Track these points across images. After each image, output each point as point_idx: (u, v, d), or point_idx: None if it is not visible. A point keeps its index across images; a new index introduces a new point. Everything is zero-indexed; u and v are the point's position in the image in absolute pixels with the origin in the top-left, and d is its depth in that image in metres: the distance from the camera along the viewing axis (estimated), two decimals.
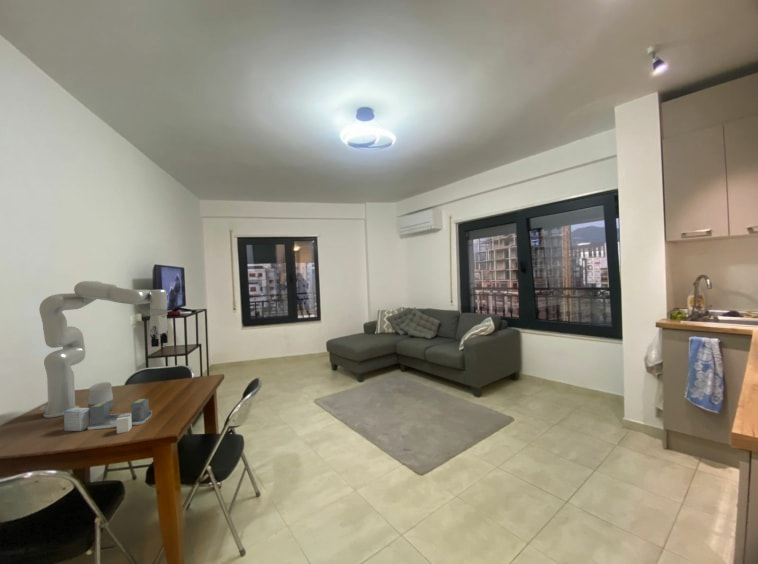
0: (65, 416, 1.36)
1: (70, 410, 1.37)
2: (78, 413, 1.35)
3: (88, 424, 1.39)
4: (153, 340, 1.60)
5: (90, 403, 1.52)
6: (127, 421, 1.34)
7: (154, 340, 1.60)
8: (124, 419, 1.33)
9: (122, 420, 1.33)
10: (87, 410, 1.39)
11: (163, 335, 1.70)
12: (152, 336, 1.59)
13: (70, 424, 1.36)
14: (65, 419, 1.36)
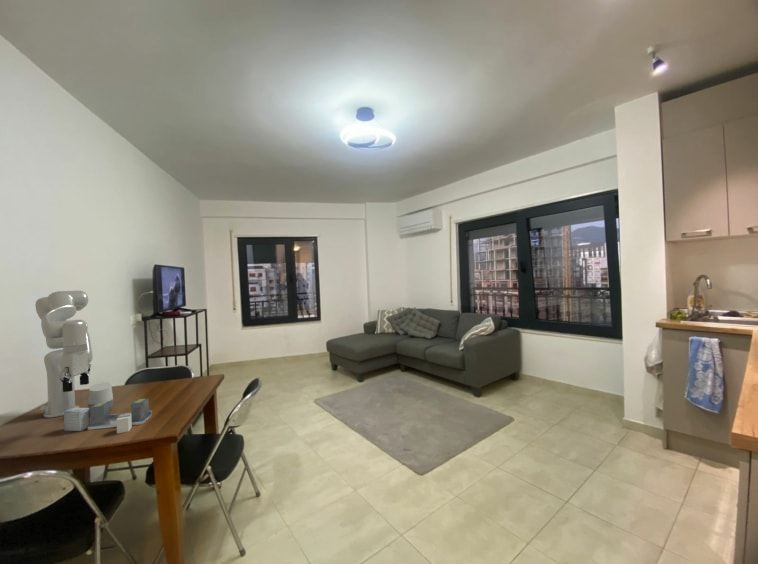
0: (65, 416, 1.36)
1: (70, 410, 1.37)
2: (78, 413, 1.35)
3: (88, 424, 1.39)
4: (64, 384, 1.32)
5: (90, 403, 1.52)
6: (127, 421, 1.34)
7: (66, 384, 1.32)
8: (124, 419, 1.33)
9: (122, 420, 1.33)
10: (87, 410, 1.39)
11: (83, 375, 1.42)
12: (62, 379, 1.31)
13: (70, 424, 1.36)
14: (65, 419, 1.36)
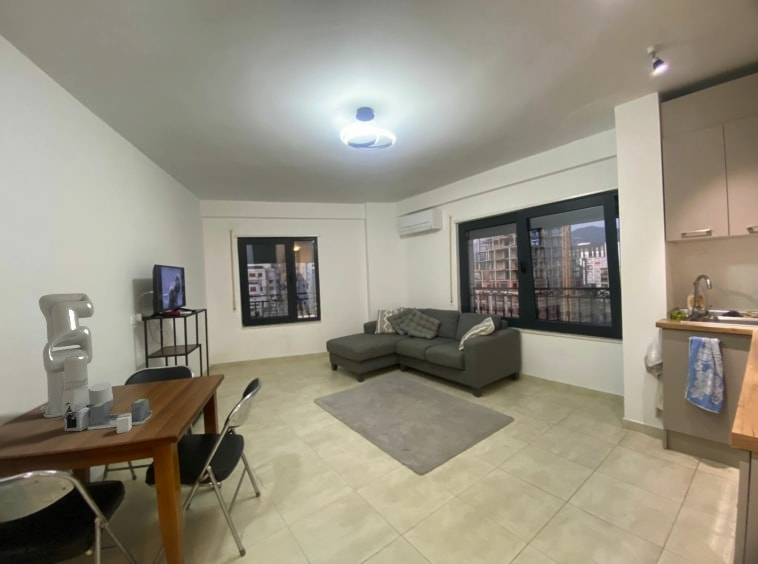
0: None
1: (70, 410, 1.37)
2: (78, 413, 1.35)
3: (88, 424, 1.39)
4: (68, 421, 1.34)
5: (90, 403, 1.52)
6: (127, 421, 1.34)
7: (70, 421, 1.34)
8: (124, 419, 1.33)
9: (122, 420, 1.33)
10: (87, 410, 1.39)
11: None
12: (67, 417, 1.32)
13: None
14: (65, 419, 1.36)
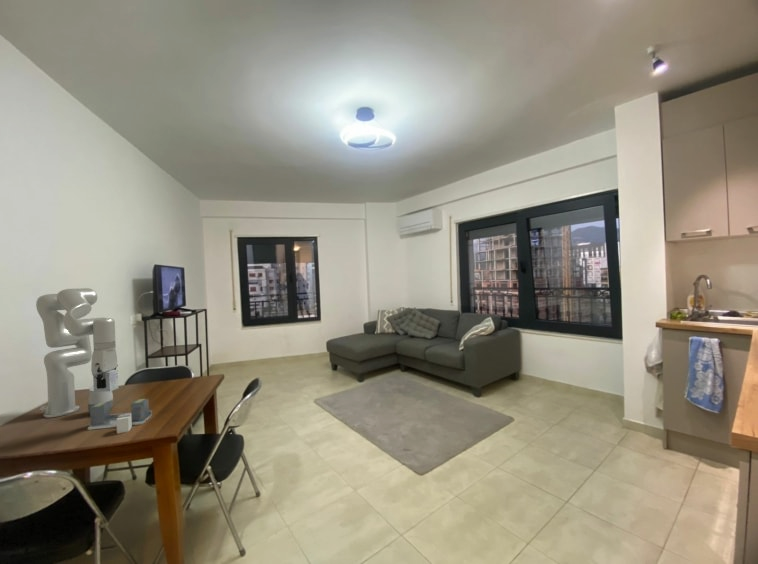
0: (94, 377, 1.39)
1: None
2: (108, 374, 1.39)
3: (117, 385, 1.42)
4: (98, 381, 1.37)
5: (90, 403, 1.52)
6: (127, 421, 1.34)
7: (100, 381, 1.37)
8: (124, 419, 1.33)
9: (122, 420, 1.33)
10: (116, 372, 1.42)
11: None
12: (97, 377, 1.36)
13: None
14: (94, 380, 1.39)
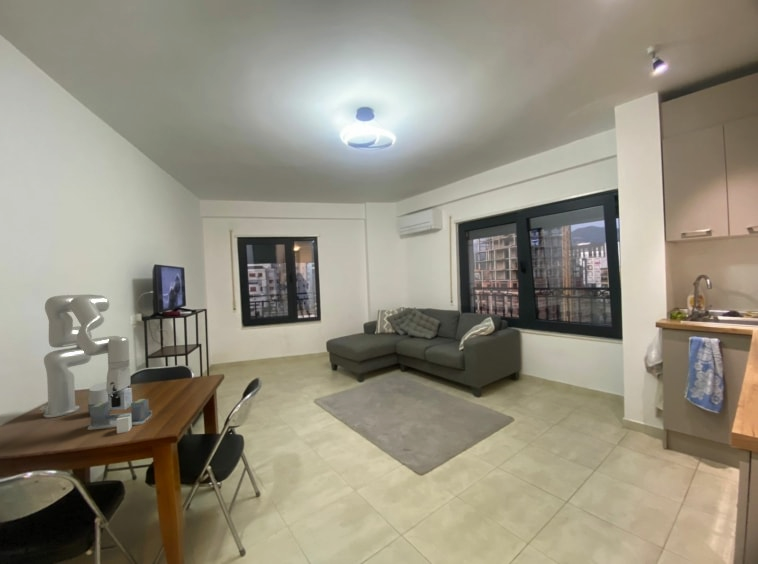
0: (109, 396, 1.41)
1: None
2: (123, 392, 1.40)
3: None
4: (113, 400, 1.39)
5: (90, 403, 1.52)
6: (127, 421, 1.34)
7: (114, 400, 1.39)
8: (124, 419, 1.33)
9: (122, 420, 1.33)
10: (130, 390, 1.44)
11: None
12: (112, 396, 1.37)
13: None
14: (109, 398, 1.41)
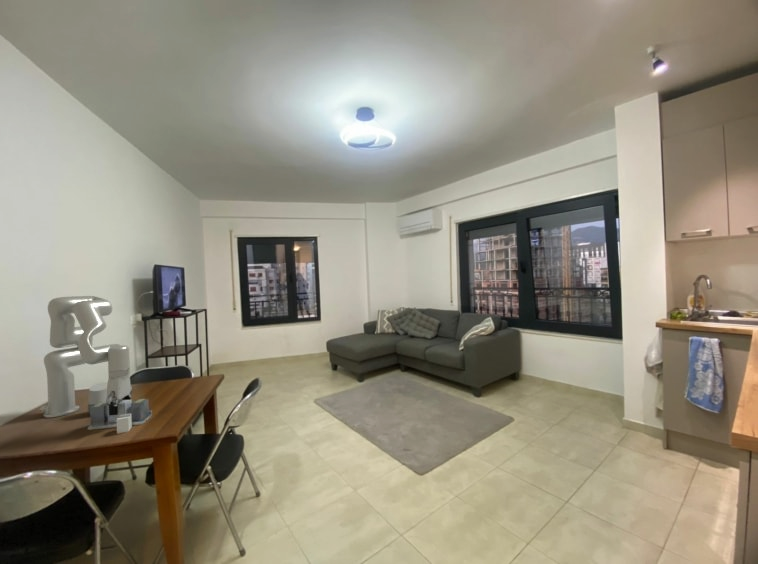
0: None
1: None
2: (123, 404, 1.41)
3: None
4: (111, 408, 1.37)
5: (90, 403, 1.52)
6: (127, 421, 1.34)
7: (112, 408, 1.37)
8: (124, 419, 1.33)
9: (122, 420, 1.33)
10: (130, 402, 1.44)
11: (125, 397, 1.47)
12: (109, 404, 1.35)
13: (114, 415, 1.40)
14: None
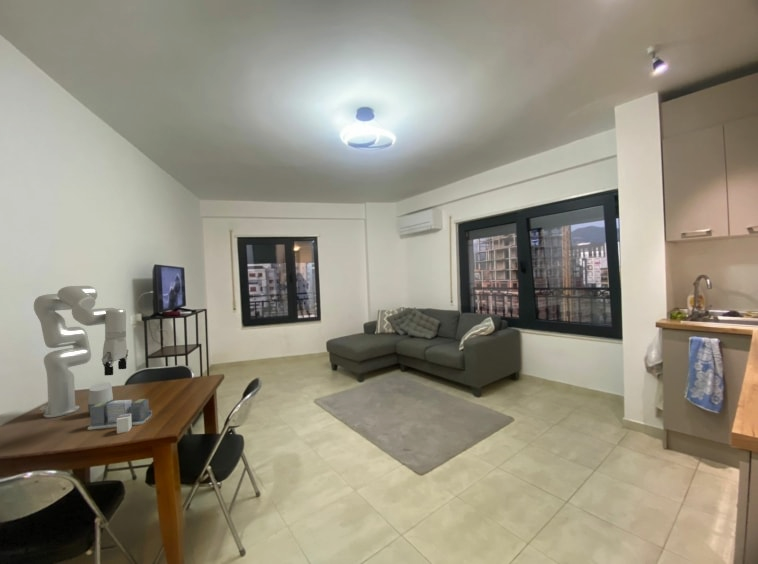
0: (109, 408, 1.40)
1: (113, 402, 1.42)
2: (123, 404, 1.41)
3: None
4: (106, 368, 1.40)
5: (90, 403, 1.52)
6: (127, 421, 1.34)
7: (107, 368, 1.40)
8: (124, 419, 1.33)
9: (122, 420, 1.33)
10: (130, 402, 1.44)
11: (121, 360, 1.50)
12: (105, 364, 1.39)
13: (114, 415, 1.40)
14: (109, 411, 1.40)
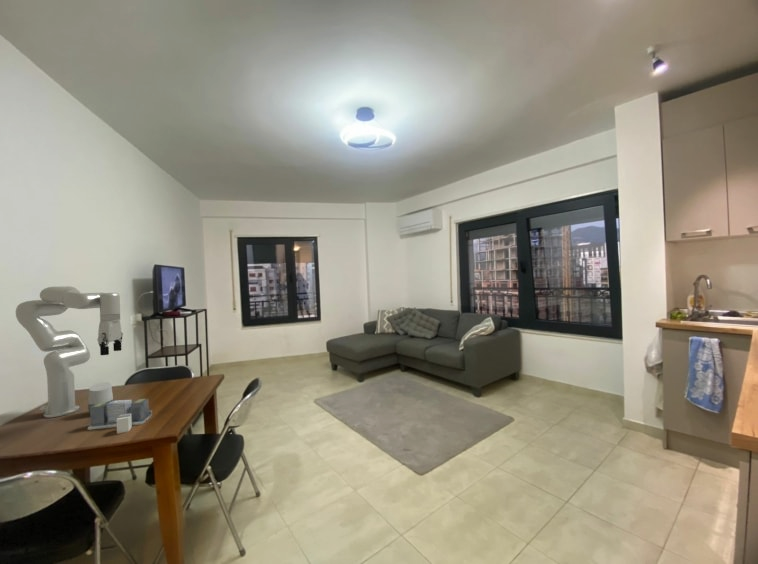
0: (109, 408, 1.40)
1: (113, 402, 1.42)
2: (123, 404, 1.41)
3: None
4: (102, 348, 1.47)
5: (90, 403, 1.52)
6: (127, 421, 1.34)
7: (103, 348, 1.47)
8: (124, 419, 1.33)
9: (122, 420, 1.33)
10: (130, 402, 1.44)
11: (116, 342, 1.57)
12: (100, 344, 1.46)
13: (114, 415, 1.40)
14: (109, 411, 1.40)
